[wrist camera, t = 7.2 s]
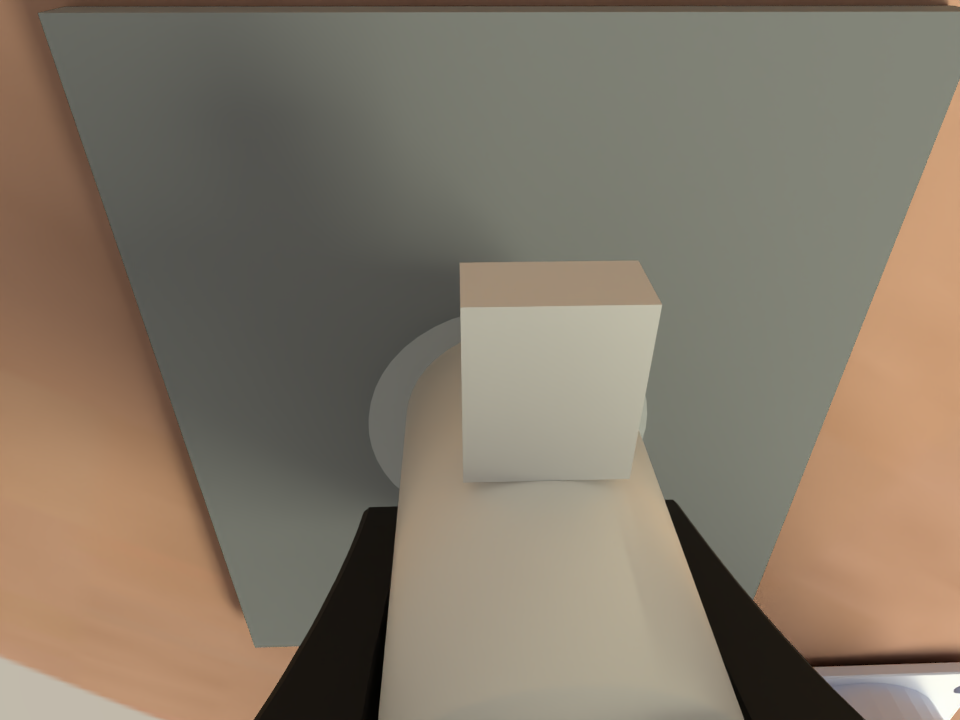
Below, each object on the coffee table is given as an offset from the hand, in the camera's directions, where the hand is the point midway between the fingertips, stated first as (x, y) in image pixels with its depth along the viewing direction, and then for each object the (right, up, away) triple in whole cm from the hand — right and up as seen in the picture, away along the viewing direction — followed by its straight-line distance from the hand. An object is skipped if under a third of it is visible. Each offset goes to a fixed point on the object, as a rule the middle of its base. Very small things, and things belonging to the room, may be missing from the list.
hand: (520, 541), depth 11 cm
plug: (0, +2, 0) cm, 2 cm away
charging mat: (0, +2, +3) cm, 4 cm away
